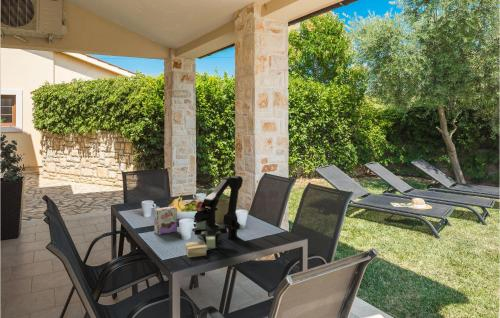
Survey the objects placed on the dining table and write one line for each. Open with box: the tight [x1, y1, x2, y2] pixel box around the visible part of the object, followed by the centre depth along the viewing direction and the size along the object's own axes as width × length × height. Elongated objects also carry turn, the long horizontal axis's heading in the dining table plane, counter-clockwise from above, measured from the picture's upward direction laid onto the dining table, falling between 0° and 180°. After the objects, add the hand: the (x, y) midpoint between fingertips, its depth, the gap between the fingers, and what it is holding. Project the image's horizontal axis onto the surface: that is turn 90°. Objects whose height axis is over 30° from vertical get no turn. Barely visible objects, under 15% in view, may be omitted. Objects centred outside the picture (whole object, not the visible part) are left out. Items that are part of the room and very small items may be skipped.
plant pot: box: [215, 197, 230, 224], centre depth 252 cm, size 15×15×16 cm
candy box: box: [153, 205, 178, 236], centre depth 227 cm, size 14×6×16 cm, turn 126°
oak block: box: [185, 240, 207, 258], centre depth 192 cm, size 10×10×5 cm
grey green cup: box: [195, 221, 212, 240], centre depth 219 cm, size 10×10×12 cm
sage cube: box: [205, 235, 216, 249], centre depth 202 cm, size 5×5×5 cm
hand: (210, 244), depth 202 cm, fingers closed on sage cube, 5 cm apart
